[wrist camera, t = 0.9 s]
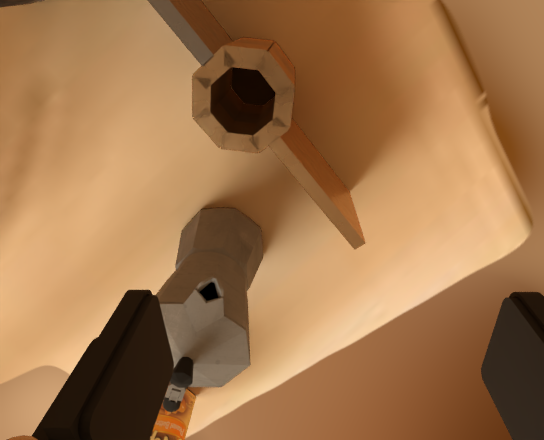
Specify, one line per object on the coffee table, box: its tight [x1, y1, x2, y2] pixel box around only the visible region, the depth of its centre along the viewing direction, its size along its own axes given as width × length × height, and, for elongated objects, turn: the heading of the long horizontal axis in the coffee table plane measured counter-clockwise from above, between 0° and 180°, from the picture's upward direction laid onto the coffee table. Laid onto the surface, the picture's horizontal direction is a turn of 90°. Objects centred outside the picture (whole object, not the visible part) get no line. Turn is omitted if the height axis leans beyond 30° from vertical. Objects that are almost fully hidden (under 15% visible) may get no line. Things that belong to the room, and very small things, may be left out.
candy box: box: [150, 385, 196, 440], centre depth 46 cm, size 9×4×15 cm, turn 35°
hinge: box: [148, 0, 365, 249], centre depth 29 cm, size 28×7×10 cm, turn 39°
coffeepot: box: [156, 208, 263, 412], centre depth 34 cm, size 15×9×18 cm, turn 161°
